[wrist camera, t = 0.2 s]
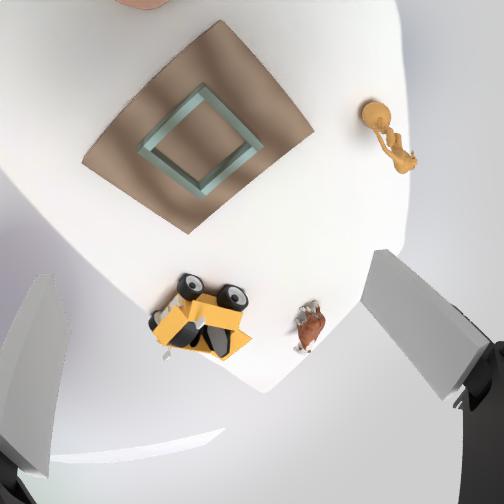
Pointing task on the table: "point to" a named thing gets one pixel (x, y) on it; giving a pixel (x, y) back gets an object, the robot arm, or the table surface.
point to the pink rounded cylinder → (143, 3)
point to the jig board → (199, 131)
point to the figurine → (388, 135)
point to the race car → (202, 320)
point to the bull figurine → (309, 329)
